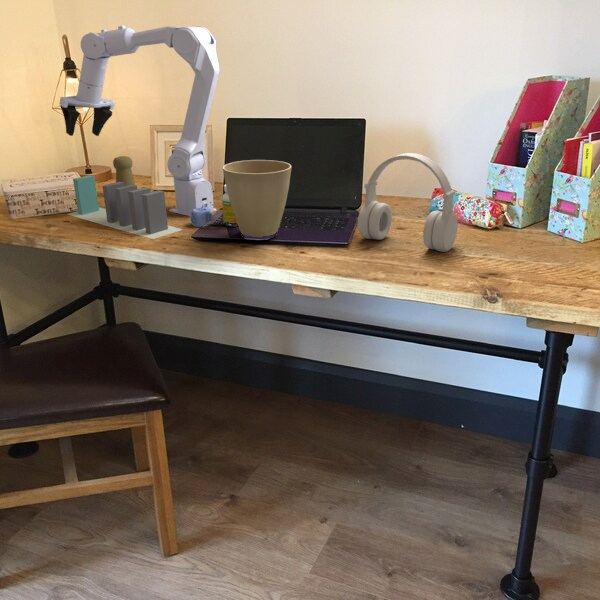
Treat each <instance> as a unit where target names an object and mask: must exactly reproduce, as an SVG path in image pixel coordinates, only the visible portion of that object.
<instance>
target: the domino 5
mask: <svg viewBox="0 0 600 600" xmlns="http://www.w3.org/2000/svg"><path fill="white" fill-rule="evenodd" d="M142 202H143V211H144V220H145V228H146V233H148V234H154V233H157V232H161V231H164V230H167V229H168V226H169V225H168V216H167V205H166V204H167V203H166V196H165V191H164V190H159V189H158V190H154V191H151V192H150V193H146V194H142Z"/></svg>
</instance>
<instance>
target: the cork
mask: <svg viewBox="0 0 600 600" xmlns="http://www.w3.org/2000/svg"><path fill="white" fill-rule="evenodd" d="M112 165H113V168H114V169H115V183H116V182H124V184H125V186H128V185H132V184H133V185H136V183H135V179H134V175H133V170H132V168H133V160H132V158H131V157H130V156H126V155H124V156H123V155H121V156H116V157H115V158H113V160H112Z"/></svg>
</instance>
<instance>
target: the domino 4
mask: <svg viewBox="0 0 600 600" xmlns="http://www.w3.org/2000/svg"><path fill="white" fill-rule="evenodd" d="M150 192H152V191H151V188H150V187H147V186H146V187H142V188H141V187H140V188H137V189H136V190H132V191H128V195H129V203H130V212H131V220H132V228H133V229H134V230H137V231H138V230H141V229H144V228H145V220H144V211H143V202H142V194H146V193H150Z"/></svg>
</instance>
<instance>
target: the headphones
mask: <svg viewBox="0 0 600 600" xmlns="http://www.w3.org/2000/svg"><path fill="white" fill-rule="evenodd" d="M401 160H409V161H414V162H418V163H421V164H422V165H423V166H425V167H426V168H428V169H429V170H430V172H431V173H433V175H434V176H435V178H436V179H437V180H438V182H439V185H440V188H441V189H442V192H443V195H442V199H443V205H442V211H440V210H433V211H431V212H430V213H429V214H428V215H427V217H426V220H425V223H424V226H423V232H422V234H423V235H422V239H423V244H424V246H425V248H427V249H430V250H435V251H438V252H440V253H447V252H448V251H450V250H451V249H452V248H453V246H454V244H455V242H456V238H457V233H458V228H459V227H458V226H459V225H458V224H459V223H458V217H457V215H456V214H455V212H454V196H455V195H456V191H455V190H453V189H452V186H451V184H450V181H449V179H448V177H447V175H446V174H445V172H444V171H443V169H442V167H440V166H439V164H437V162H435V161H434V160H432V159H431V158H429V157H428V156H425V155H422V154H420V153H415V152H406V153H400V154H398V155H397V154H396V155H394V156H392V157H390V158H387V159H386V160H384V161H382V162H381V163H380V164H379V165H378V166H377V167H376V168H375V169H374V171H373V172H372V174H371V175H370V178H369V179H368V181H367V183H365V184H364V189H365V199H364V204H363V205H362V207H361V208H360V211H359V214H358V217H357V228H358V232H359V234H360V236H361V237H362V238H364V239H367V240H383V239H385V238H386V237H387V235H388V234H389V231H390V230H391V225H392V222H393V216H392V215H393V214H392V209H391V206H390V205H389V204H387V203H385V202H380V201H378V200H377V190H376V189H377V188H376V187H377V185H378V182H377V180H379V177H380V176H381V174H382V173H383V171H384V170H385V169H386V168H387V166H389V165H391V164H392V163H393V162H397V161H401Z"/></svg>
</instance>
